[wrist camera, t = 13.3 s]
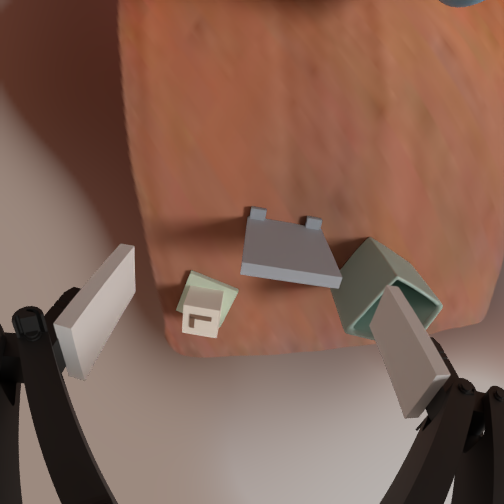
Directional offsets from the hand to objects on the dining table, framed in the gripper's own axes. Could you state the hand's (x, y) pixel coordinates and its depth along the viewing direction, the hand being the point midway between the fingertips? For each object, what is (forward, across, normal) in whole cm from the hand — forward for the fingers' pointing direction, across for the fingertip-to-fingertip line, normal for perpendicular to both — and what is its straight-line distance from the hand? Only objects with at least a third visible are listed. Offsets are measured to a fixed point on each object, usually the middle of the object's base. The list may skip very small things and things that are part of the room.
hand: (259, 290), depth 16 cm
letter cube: (+34, -6, -25) cm, 43 cm away
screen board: (+35, +5, -9) cm, 36 cm away
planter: (+35, +22, -12) cm, 43 cm away
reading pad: (+35, -6, -25) cm, 43 cm away
